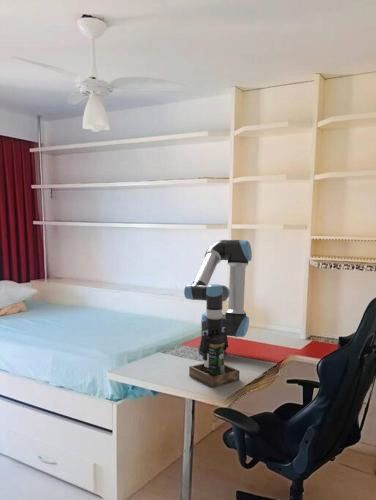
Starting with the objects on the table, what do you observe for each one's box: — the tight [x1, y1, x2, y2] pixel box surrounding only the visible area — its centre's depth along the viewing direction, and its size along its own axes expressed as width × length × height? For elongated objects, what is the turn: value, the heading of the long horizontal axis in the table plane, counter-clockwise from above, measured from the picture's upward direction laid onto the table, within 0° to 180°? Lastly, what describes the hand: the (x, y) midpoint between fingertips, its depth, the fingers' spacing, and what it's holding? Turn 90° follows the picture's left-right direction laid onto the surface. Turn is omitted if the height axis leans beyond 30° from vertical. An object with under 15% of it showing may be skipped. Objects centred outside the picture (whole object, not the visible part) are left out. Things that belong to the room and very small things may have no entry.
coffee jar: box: [204, 335, 225, 376], centre depth 192 cm, size 10×8×19 cm
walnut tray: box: [188, 362, 240, 389], centre depth 192 cm, size 16×18×4 cm
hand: (214, 364), depth 192 cm, fingers open, 8 cm apart
